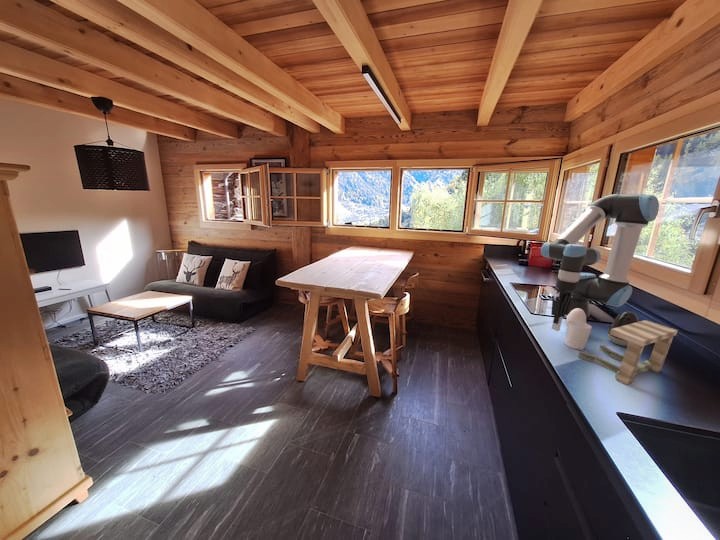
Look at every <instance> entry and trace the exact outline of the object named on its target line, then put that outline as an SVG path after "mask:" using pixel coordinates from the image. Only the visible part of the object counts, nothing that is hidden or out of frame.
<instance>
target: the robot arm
mask: <svg viewBox="0 0 720 540" xmlns="http://www.w3.org/2000/svg"><path fill="white" fill-rule="evenodd" d="M659 202H660V201H659V200H658V197H657V196H655V195H653V194H645V193H641V194H639V193H638V194H635V193H634V194H631V193H630V194H625V193H623V194H620V193H614V194H609V195H605V196H603V197H601V198H598V199H596V200H594V201H593V202H591V203H590V204H588V205H587V206H586V207H585V208H584V209H583V212H582V213H581V215H580V216H579V217H578V218H577V219H576V220H574V222H573V223H572V224H570V226H569V227H567V228H566V230H564V231H563V232H562V233H561V234H560V235H559V236H558V237H557V238H556V239H555V240H554V241H546V242H544V243H543V244H542V246H541V248H540V254H541V256H542V257H544V258H548V259H551V260H556V261H560V266H559V270H558V275H557V279H556V283H555V287H556V288H557V291H556V294H555V295H554V294H553V295H552V296H551V300H552V303H551V315H552V316H554V317H553V321H552V325H551V329H552V330H554V331H556V332H559V331H560V330H561V326H562V323H563V322H562V321H563V318H567V316H568V314H569V313H570V312H571V311H572V310H573V309H576V308H580V309H582V310H583V311H584V312H585V315H586V319H588V318H589V317H590V316H591V315H590V313H591V311H590V304H589V302H590V300H591V301H595V302H598V303H600V304H605V305H607V306H612V307H615V308H617V307H618V308H619V307H622V306H623V305H625V304H626V303H627V301H629V299H630V298H631V296H632V293H633V287H632V286H631V285H630V280H629V278H627V277H628V273H629V270H630V267H631V264H632V261H633V258H634V255H635V251H636V248H637V245H638V242H639V239H640V237H641V236H640V235H641V233H642V230H643V229H644V228H645V227H647V226H649V223H650V222H653V221H655V220H656V218H657V217H658V214H659V212H660V211H659V209H660V203H659ZM605 219H614V223H615V224H616V226H617V227H616V228H617V229H616V232H615V234H614V238H613V242H612V245H611V248H610V251H609V255H608V259H607V261H606V262H607V263H606V266H605V269H604V272H603V273H602V274H599V276H598V278H597V274H594V273H591V272H582V270H583V266H587V267H588V266H592V265H596V264H598V262H600V260H601V256H602V255H601V252H600V251H599V250H598V249H596V248H595V247H594V248H593V247H587V246H586V245H584V244H578V243H579V241H580V240H581V239H583V237H584V236H585V235H586V234H587V233H589V232H590V231H591V229H592V228H594V227H595V226H596V225H597V224H598V223H600V222H602V221H604V220H605Z"/></svg>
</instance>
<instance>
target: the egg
mask: <svg viewBox="0 0 720 540" xmlns="http://www.w3.org/2000/svg"><path fill="white" fill-rule="evenodd" d="M569 321H580V322H583V323H586V324H587V318H586V315H585V312H584V311H583V310H582V309H580V308H576V309H573V310H572V311H571V312H570V313H569V314H568V315H566V322H565V324H566V326H567V328H568V323H569Z"/></svg>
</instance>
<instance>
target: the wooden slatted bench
mask: <svg viewBox="0 0 720 540" xmlns="http://www.w3.org/2000/svg"><path fill="white" fill-rule="evenodd" d="M678 331H679V330H678V329H676V328H672V327H670V326H666V325H663V324H660V323H656V322H653V321H650V320H647V319H644V320H641V321H639V322H636V323H632V324H628V325H624V326H621V327H617V328H613V329H611V331H610V335H613V336H616V337H618V338H621V339H623V340H626V341H629V342H628V345H627V346H626V349H625V353H624V354H620V353H618V352H616V351H613V349H610V348H609V347H608V346H606V345H604V344H600V345H599V347H598V349H599V351H601V352H602V353H604V354H606V356H609V357H611V358H613V359H615V360H617V361H620V362H621V363H620V364H621V365H620V366H618V365H616V364H614V363H612V362H609V361H607V360H605V359H603V358H602V357H599V356H596V355H594V354H591V353H587V352H583V351H582V350H581V351H580V350H579V353H578V358H581V359H583V360H586V361H590V362H593V363H595V364H597V365H599V366H601V367H604V368H605V369H607V370H610V371H612V372H614V373H616V374H615V377H614V378H615V379H616V381H618V382H619V383H620V384H621V383H622V384H624V385H625V386H629V385H631V384H632V383H633V379H634V377H635V376H637V375H640V374H642V373H644V372H648V371H652V372H655V373H660V372H661V371H662V368H663V366H664V363H665V360H666V357H667V356H668V352H669V350H670V347H671V344H672V342H673V338H674V336H677V334H678ZM651 344H654V345H653V349H652V351H651V354H650V357H649V359H645V360H644V361H641V362H640V359H641V356H642V353H643V351H644V348H645V346H648V345H651Z"/></svg>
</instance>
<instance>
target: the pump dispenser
mask: <svg viewBox="0 0 720 540" xmlns="http://www.w3.org/2000/svg"><path fill="white" fill-rule="evenodd" d="M636 322H640V321H639V317H638V316H637V314H636V313H634V312H632V311H628V310H627V311H625V310H624V311H622V312H620V313H619V314H618V315H617V316H616V317H615V318H614V320H613V321H612V322H611V324H610V326H609V328H608V330H607V336H608V339H609V340H610V341H611V342H612V343H613V344H616V345H617V344H618V345H619V346H620V345H621V346H620V347H627V345H628V342H629V341H626V340H623V339H621V338H618V337H616V336H613V335H610V331H611V329H613V328H617V327H621V326H624V325H628V324H632V323H636Z"/></svg>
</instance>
